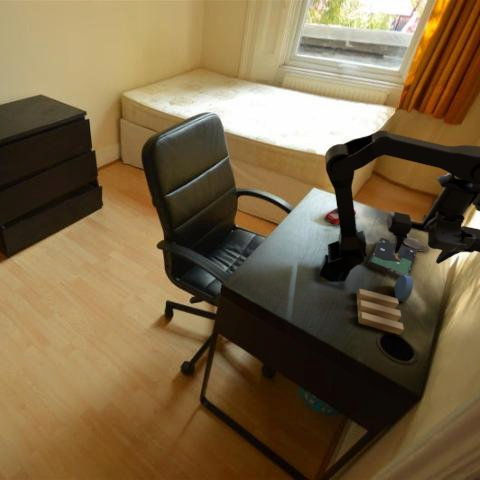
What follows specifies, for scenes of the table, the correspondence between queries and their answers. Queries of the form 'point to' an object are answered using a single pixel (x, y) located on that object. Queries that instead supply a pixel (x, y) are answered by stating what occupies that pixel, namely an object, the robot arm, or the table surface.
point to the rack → (379, 311)
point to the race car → (333, 217)
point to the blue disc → (403, 288)
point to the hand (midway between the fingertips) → (415, 257)
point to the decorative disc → (414, 244)
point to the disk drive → (392, 258)
